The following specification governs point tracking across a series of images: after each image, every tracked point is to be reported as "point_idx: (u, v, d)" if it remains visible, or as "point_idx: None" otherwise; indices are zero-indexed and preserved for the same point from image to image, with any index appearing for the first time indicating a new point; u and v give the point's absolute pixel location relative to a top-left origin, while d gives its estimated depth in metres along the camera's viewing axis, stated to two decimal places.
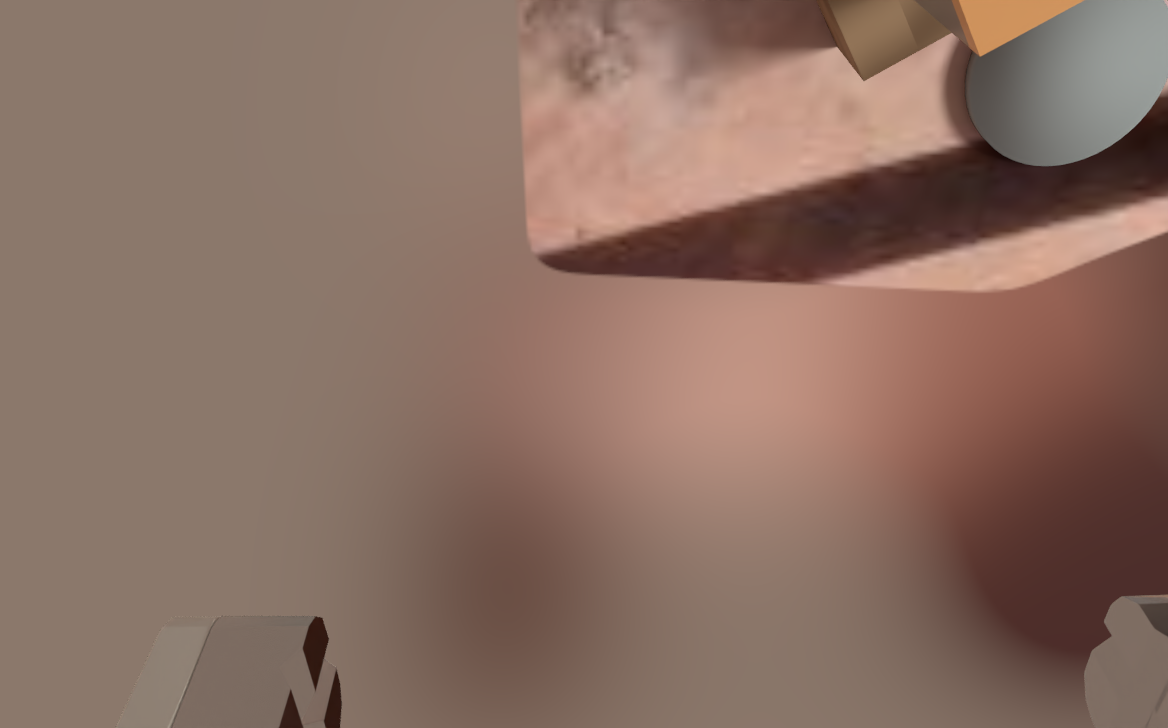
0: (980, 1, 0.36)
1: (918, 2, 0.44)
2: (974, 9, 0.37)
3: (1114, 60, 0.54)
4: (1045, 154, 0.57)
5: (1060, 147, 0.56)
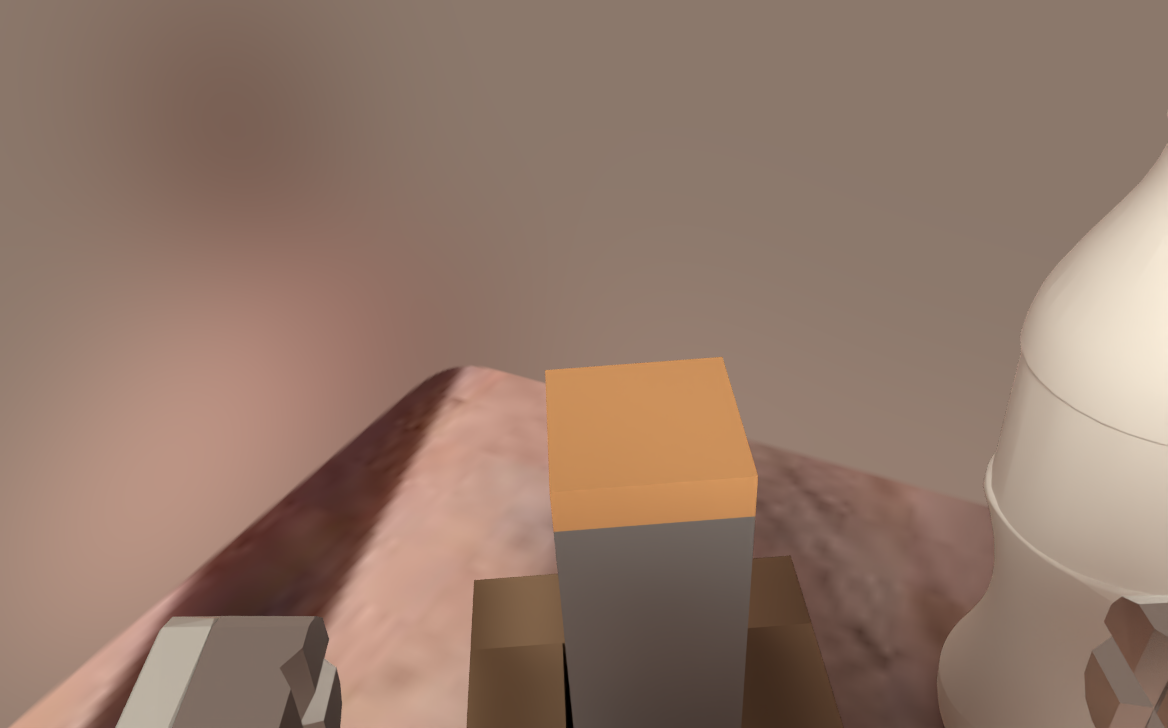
0: (626, 380, 0.24)
1: None
2: (619, 373, 0.24)
3: None
4: None
5: None
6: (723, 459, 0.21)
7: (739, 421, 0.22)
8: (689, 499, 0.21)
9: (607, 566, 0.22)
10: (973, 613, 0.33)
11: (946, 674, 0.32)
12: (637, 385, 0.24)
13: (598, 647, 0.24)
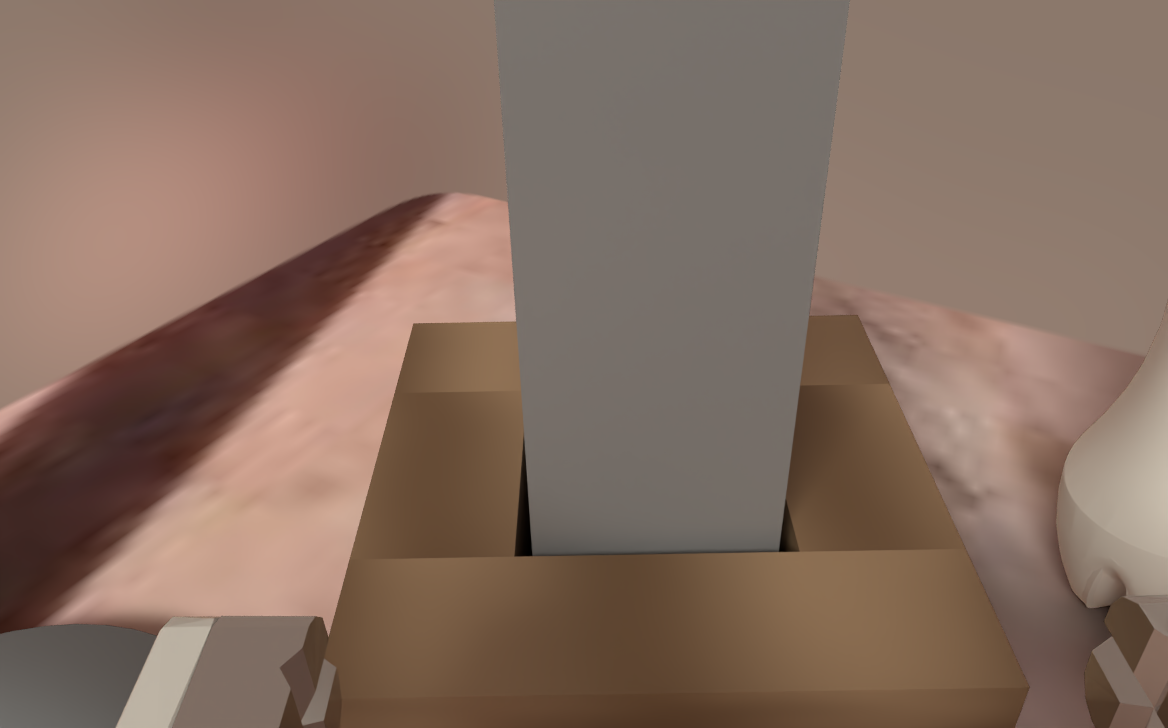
0: None
1: None
2: None
3: None
4: None
5: None
6: None
7: None
8: None
9: (585, 70, 0.13)
10: (1119, 399, 0.23)
11: (1077, 482, 0.22)
12: None
13: (567, 264, 0.14)
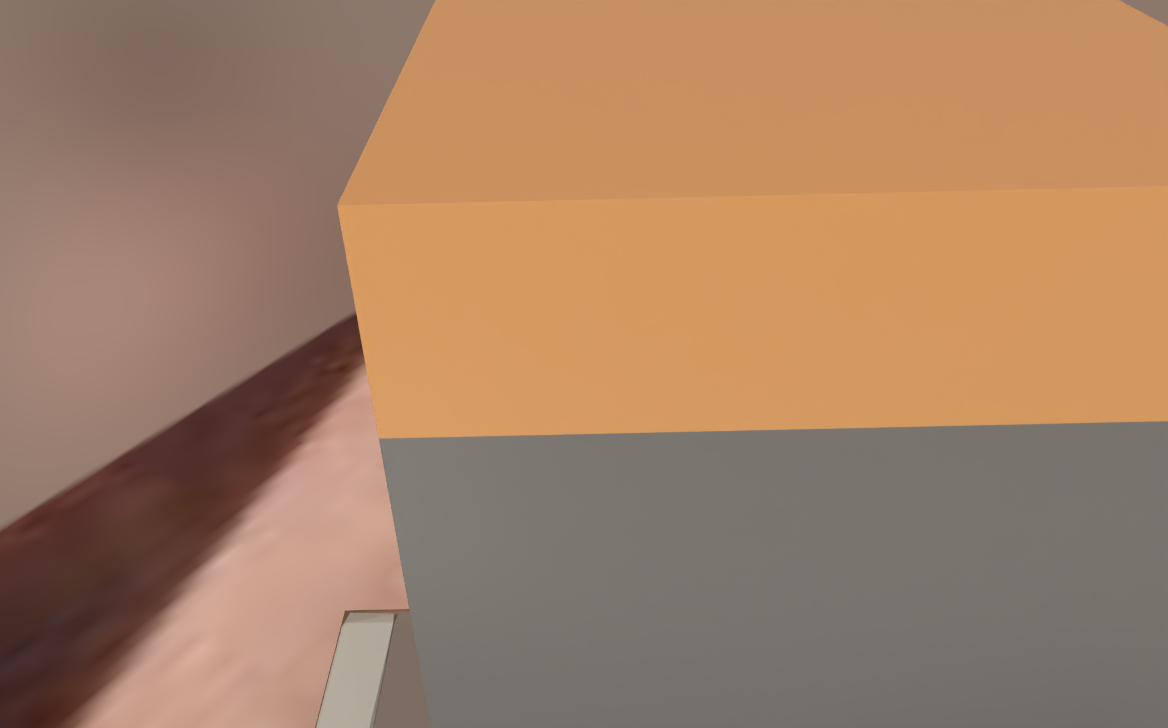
0: None
1: None
2: None
3: None
4: None
5: None
6: None
7: None
8: (1053, 303, 0.04)
9: (617, 610, 0.05)
10: None
11: None
12: None
13: None
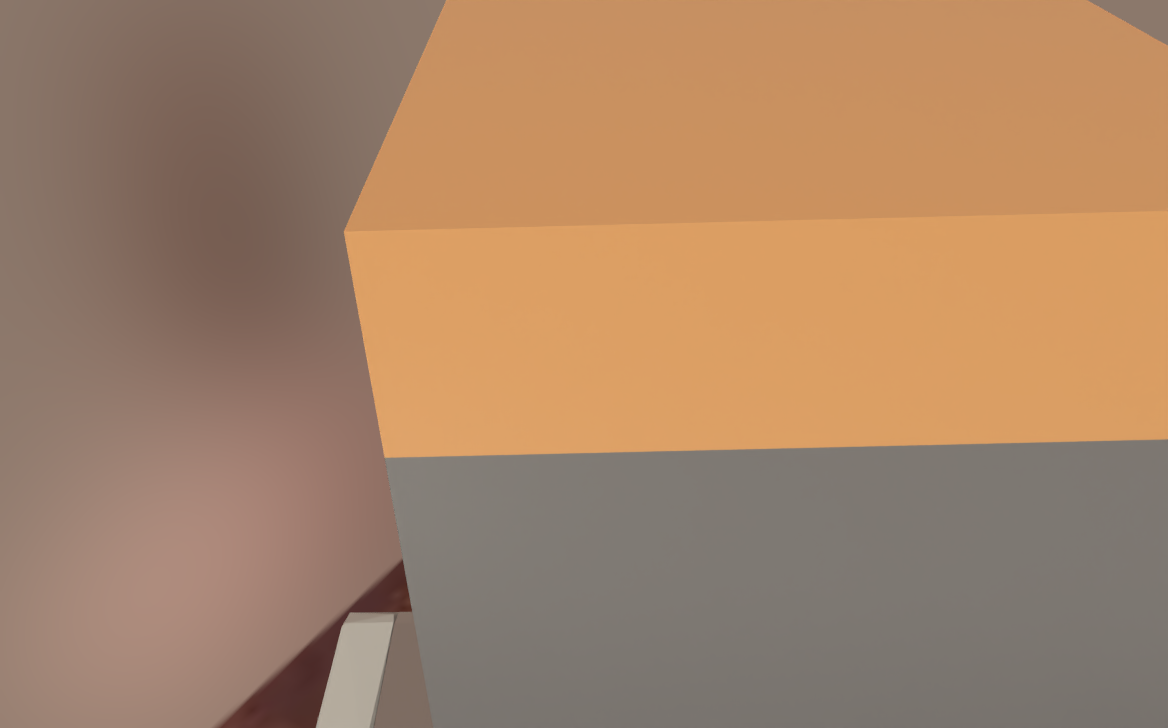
0: None
1: None
2: None
3: None
4: None
5: None
6: None
7: None
8: (1050, 324, 0.04)
9: (622, 626, 0.05)
10: None
11: None
12: (756, 1, 0.07)
13: None
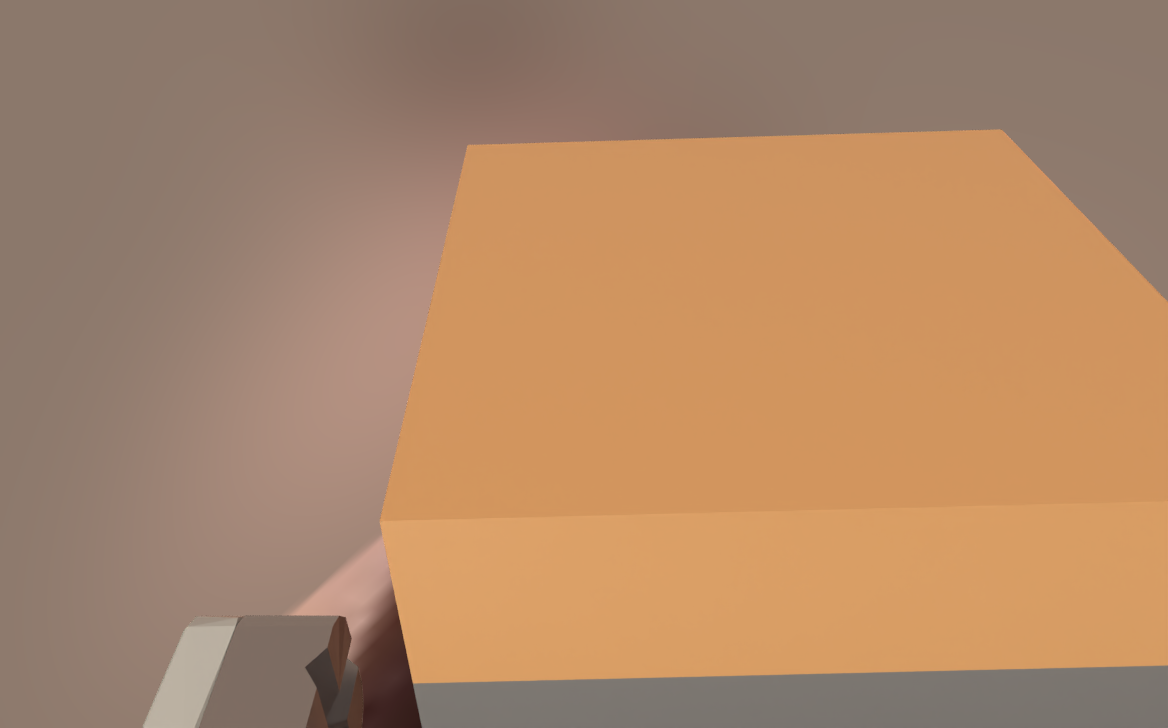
0: (713, 173, 0.08)
1: None
2: (690, 157, 0.08)
3: None
4: None
5: None
6: (1147, 414, 0.05)
7: (1145, 288, 0.06)
8: (1006, 584, 0.05)
9: None
10: None
11: None
12: (750, 183, 0.07)
13: None
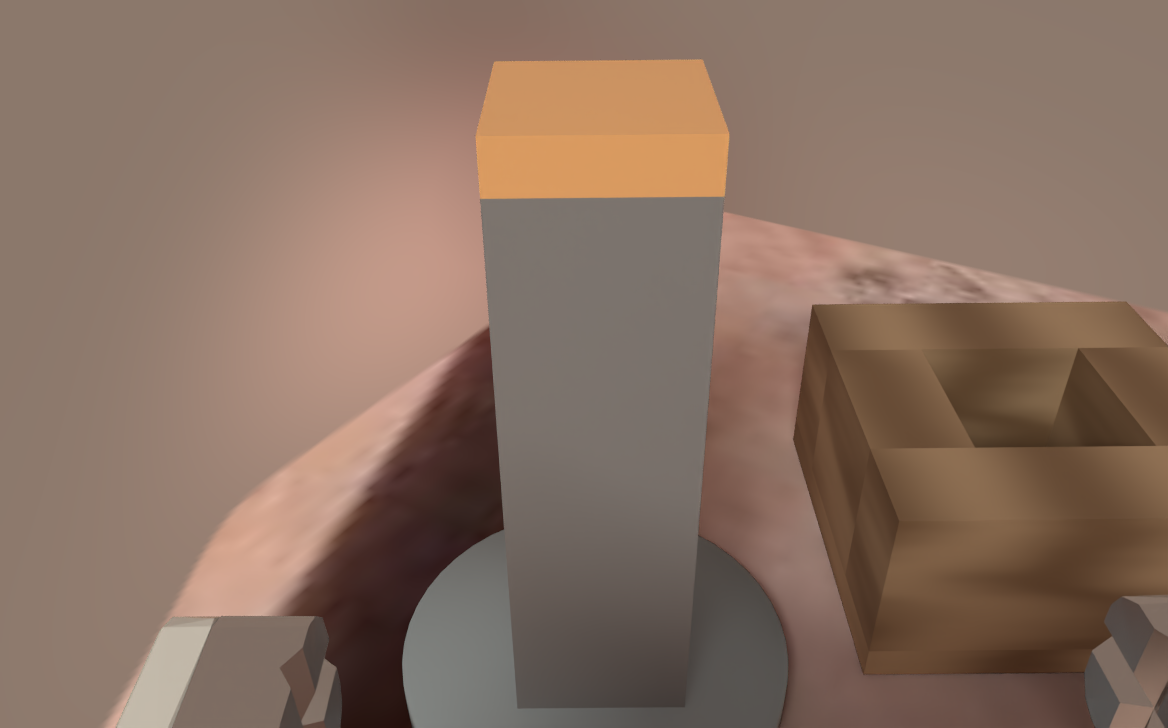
0: (587, 71, 0.20)
1: None
2: (579, 66, 0.21)
3: None
4: (465, 575, 0.30)
5: (461, 596, 0.29)
6: (689, 122, 0.18)
7: (714, 99, 0.19)
8: (645, 163, 0.17)
9: (543, 257, 0.18)
10: None
11: None
12: (598, 73, 0.20)
13: (532, 381, 0.20)
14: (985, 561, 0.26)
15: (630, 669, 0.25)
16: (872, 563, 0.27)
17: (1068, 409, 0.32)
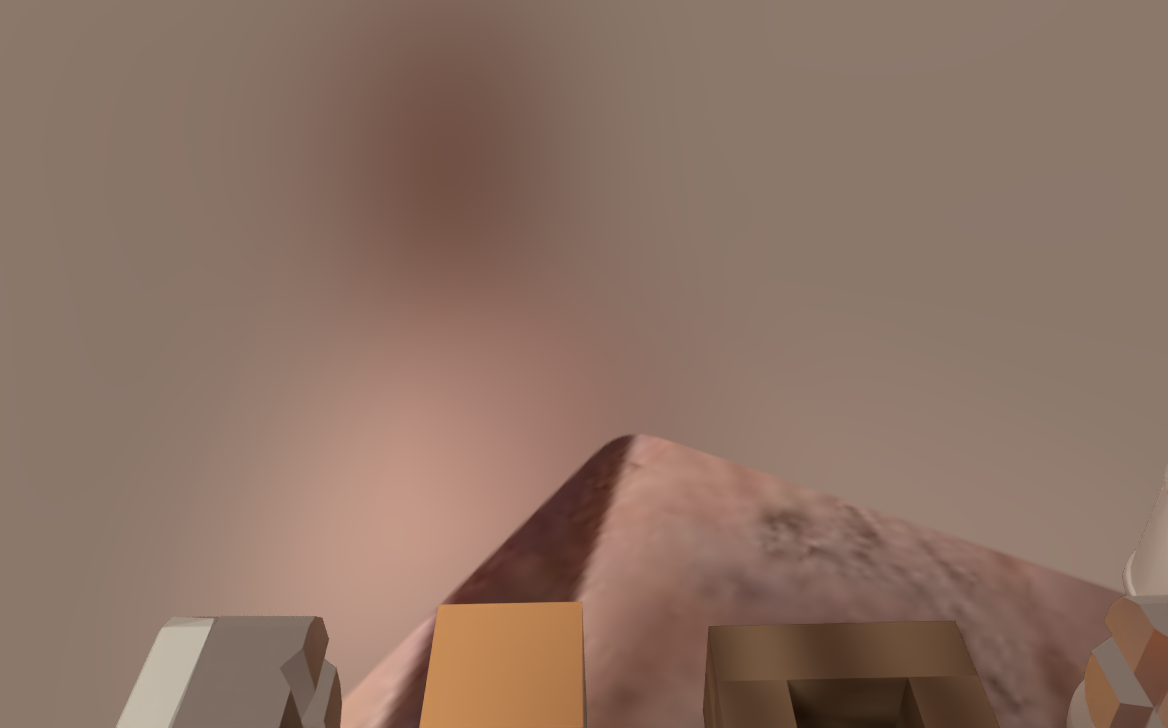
0: (500, 621, 0.30)
1: None
2: (496, 613, 0.30)
3: None
4: None
5: None
6: (559, 707, 0.27)
7: (580, 670, 0.28)
8: None
9: None
10: None
11: (1077, 720, 0.42)
12: (508, 627, 0.29)
13: None
14: None
15: None
16: None
17: (903, 719, 0.41)
